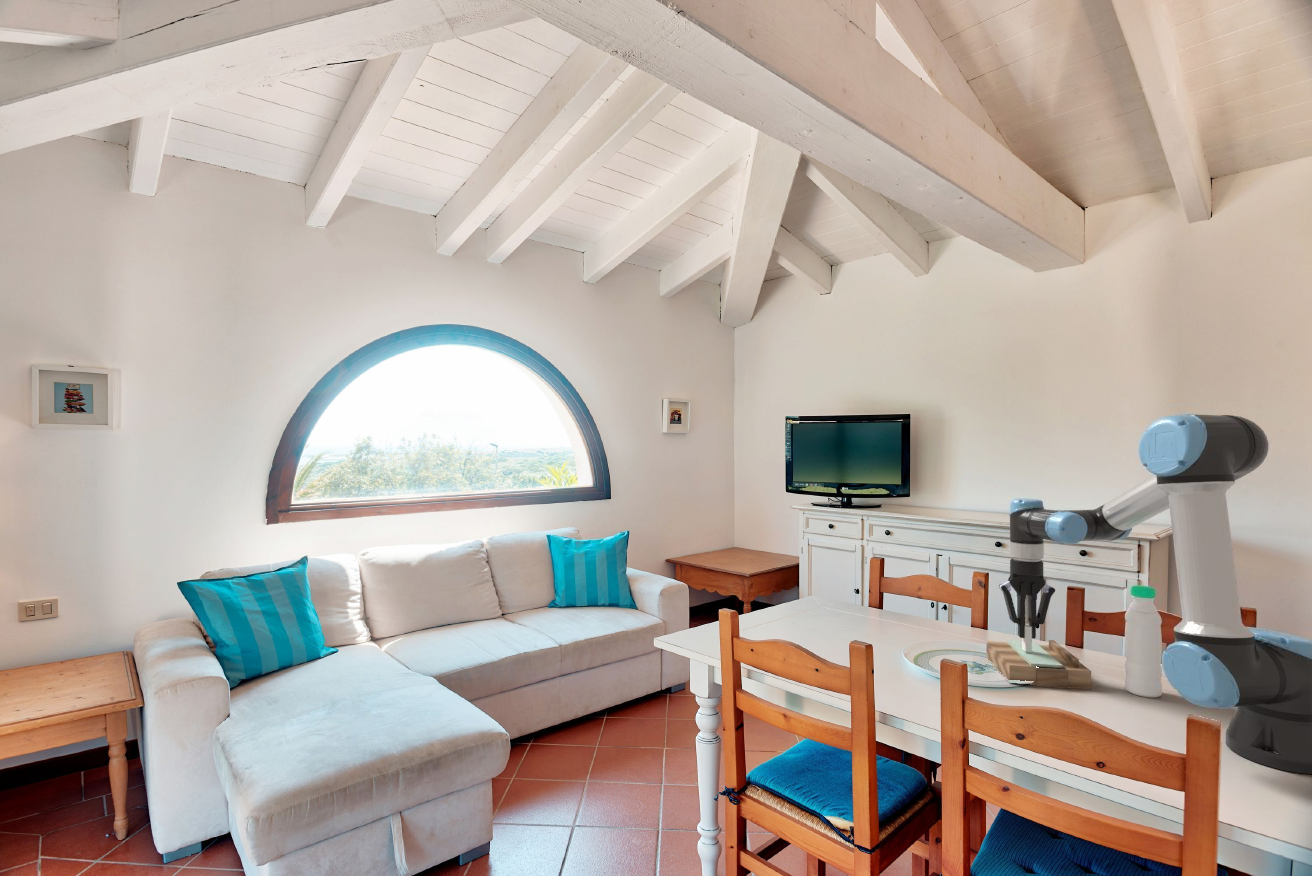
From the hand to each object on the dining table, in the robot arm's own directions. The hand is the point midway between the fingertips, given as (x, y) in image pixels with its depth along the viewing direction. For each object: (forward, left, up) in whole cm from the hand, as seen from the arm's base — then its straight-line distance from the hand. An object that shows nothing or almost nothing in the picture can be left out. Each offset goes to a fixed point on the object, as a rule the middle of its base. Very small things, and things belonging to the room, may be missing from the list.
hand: (1026, 650), depth 171 cm
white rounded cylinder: (0, -4, -3) cm, 5 cm away
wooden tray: (0, -2, -5) cm, 6 cm away
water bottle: (-10, -22, -6) cm, 25 cm away
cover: (0, -2, -1) cm, 2 cm away
